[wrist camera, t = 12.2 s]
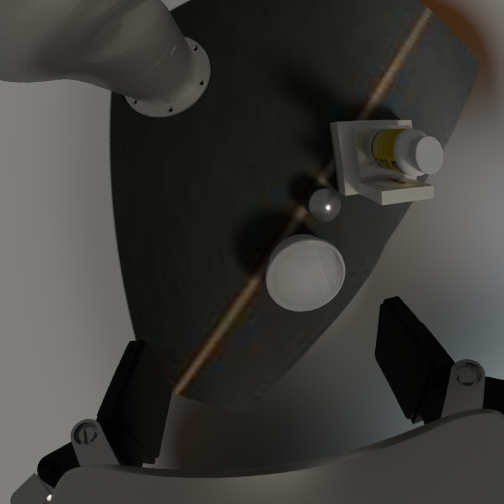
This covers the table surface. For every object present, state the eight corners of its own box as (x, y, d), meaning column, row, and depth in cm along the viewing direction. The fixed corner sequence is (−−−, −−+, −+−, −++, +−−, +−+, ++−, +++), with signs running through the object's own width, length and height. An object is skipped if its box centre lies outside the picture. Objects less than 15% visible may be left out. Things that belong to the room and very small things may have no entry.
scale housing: (328, 122, 35) (356, 117, 25) (401, 120, 34) (440, 118, 25) (338, 192, 38) (366, 208, 29) (407, 184, 38) (445, 197, 29)
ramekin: (348, 251, 42) (360, 265, 37) (306, 304, 45) (313, 323, 40) (290, 213, 40) (298, 223, 35) (249, 273, 43) (250, 290, 38)
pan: (349, 127, 32) (354, 126, 30) (403, 125, 32) (410, 125, 30) (355, 175, 34) (360, 177, 33) (408, 170, 34) (414, 172, 32)
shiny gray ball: (302, 188, 38) (307, 191, 35) (332, 184, 38) (339, 187, 35) (306, 218, 40) (311, 223, 37) (335, 213, 40) (342, 218, 37)
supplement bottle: (364, 161, 32) (404, 170, 23) (373, 122, 30) (415, 119, 21) (397, 174, 33) (441, 187, 23) (406, 137, 31) (452, 140, 22)
